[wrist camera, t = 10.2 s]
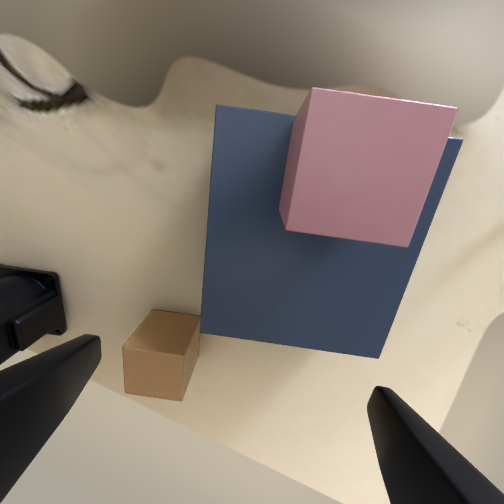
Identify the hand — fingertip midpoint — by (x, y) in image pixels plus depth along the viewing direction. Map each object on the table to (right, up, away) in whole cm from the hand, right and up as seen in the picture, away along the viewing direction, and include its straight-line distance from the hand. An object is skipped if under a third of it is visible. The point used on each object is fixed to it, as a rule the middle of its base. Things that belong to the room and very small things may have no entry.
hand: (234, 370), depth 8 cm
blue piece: (+4, +5, +11) cm, 13 cm away
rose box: (+5, +8, +5) cm, 11 cm away
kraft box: (-7, -4, +15) cm, 17 cm away
